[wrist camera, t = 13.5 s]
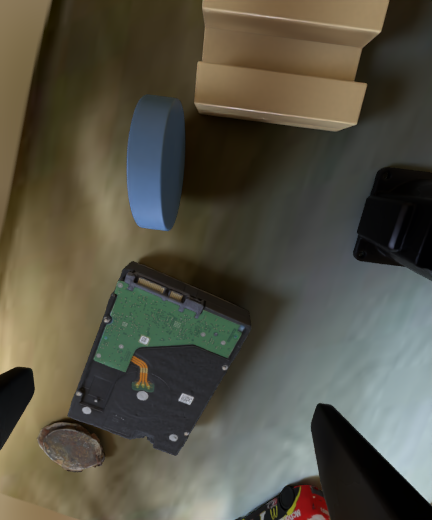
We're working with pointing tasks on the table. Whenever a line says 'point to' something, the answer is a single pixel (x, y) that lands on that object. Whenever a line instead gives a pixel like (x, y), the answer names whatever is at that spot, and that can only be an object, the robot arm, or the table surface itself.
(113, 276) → the table surface
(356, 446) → the robot arm
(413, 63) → the table surface
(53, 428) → the decorative disc
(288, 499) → the race car
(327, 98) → the rack
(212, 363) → the disk drive
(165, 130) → the blue disc
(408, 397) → the table surface
